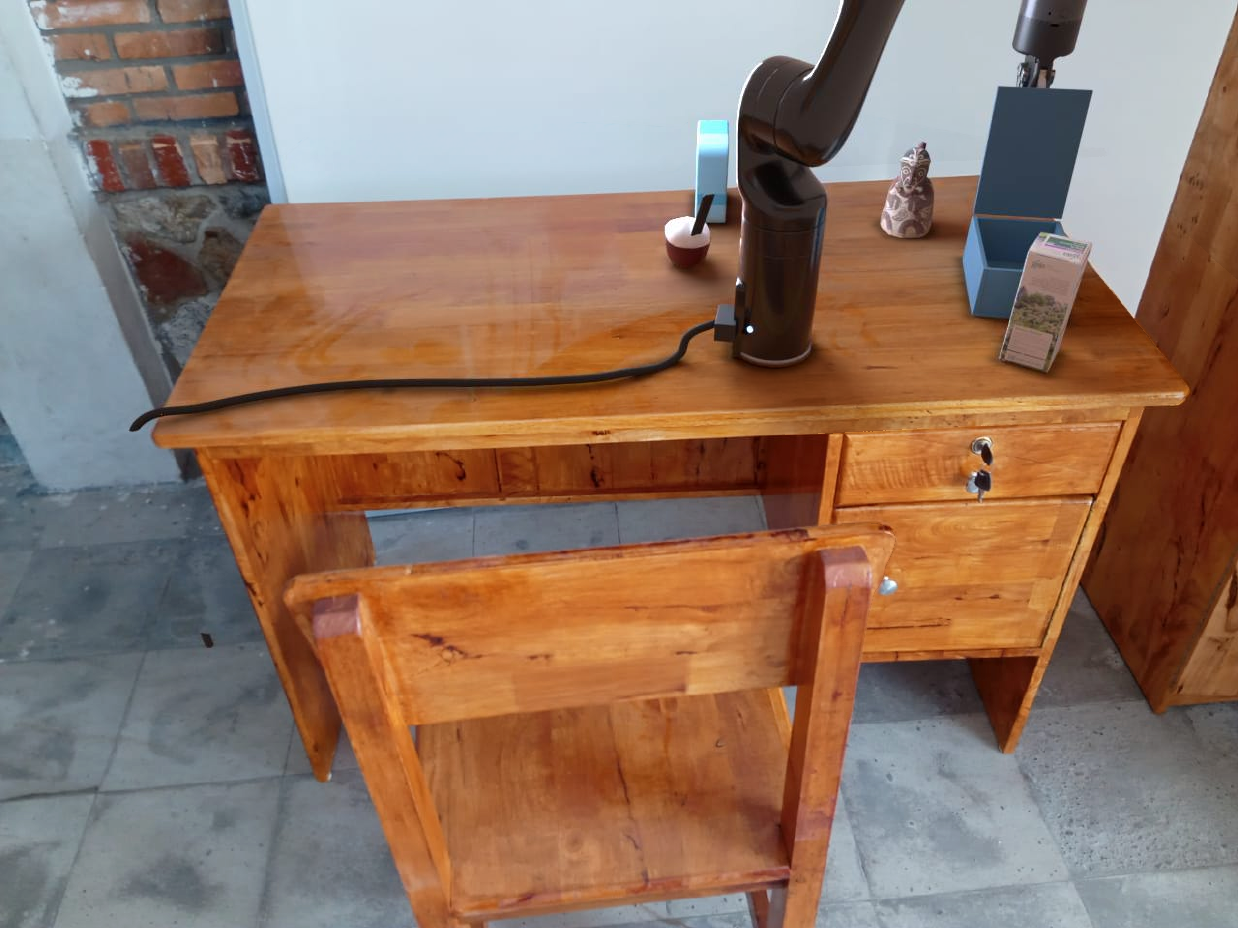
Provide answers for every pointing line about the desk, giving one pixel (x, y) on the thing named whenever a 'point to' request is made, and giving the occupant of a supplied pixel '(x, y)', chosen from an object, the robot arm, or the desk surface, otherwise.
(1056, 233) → the box
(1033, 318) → the syrup box
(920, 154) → the figurine
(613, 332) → the desk surface
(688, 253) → the ice cream cup
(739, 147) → the robot arm
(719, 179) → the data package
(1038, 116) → the lunchbox lid
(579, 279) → the desk surface
